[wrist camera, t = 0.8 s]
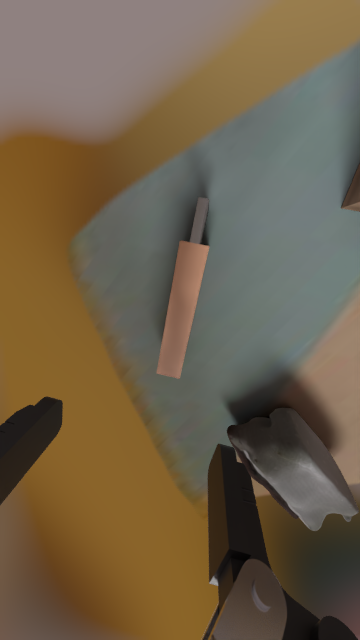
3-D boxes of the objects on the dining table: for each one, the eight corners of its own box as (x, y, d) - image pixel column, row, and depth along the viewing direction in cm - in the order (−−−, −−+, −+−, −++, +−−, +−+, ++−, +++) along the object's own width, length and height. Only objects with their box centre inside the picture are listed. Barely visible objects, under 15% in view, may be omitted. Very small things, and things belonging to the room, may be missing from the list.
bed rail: (216, 211, 23) (219, 200, 18) (183, 358, 30) (179, 378, 25) (191, 206, 23) (187, 194, 18) (164, 354, 30) (156, 373, 25)
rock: (215, 420, 33) (218, 469, 25) (275, 386, 29) (299, 431, 22) (279, 485, 36) (298, 546, 29) (340, 462, 33) (380, 524, 25)
